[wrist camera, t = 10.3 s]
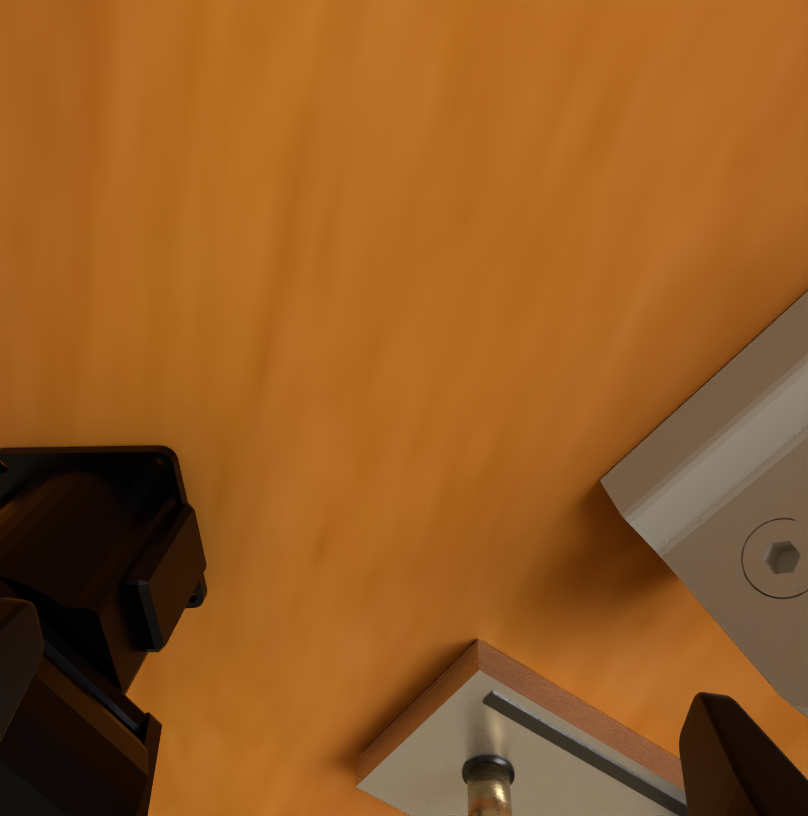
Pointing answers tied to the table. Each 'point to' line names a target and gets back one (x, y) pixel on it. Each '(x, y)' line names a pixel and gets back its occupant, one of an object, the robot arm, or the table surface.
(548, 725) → the bolt plate
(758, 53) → the table surface
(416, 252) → the table surface
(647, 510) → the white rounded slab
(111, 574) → the robot arm
